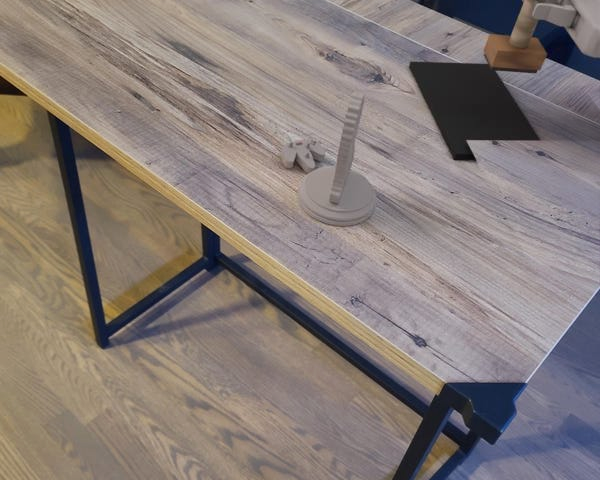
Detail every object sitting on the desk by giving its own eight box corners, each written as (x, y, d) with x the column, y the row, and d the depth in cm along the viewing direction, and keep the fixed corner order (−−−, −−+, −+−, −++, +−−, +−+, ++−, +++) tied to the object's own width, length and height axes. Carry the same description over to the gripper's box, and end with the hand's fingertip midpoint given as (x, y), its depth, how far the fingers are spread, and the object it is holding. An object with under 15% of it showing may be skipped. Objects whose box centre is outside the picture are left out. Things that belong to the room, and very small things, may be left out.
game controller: (301, 181, 75) (303, 164, 73) (239, 138, 80) (239, 121, 78) (331, 163, 78) (334, 146, 76) (269, 122, 83) (271, 106, 81)
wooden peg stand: (528, 58, 85) (577, -57, 74) (538, 74, 82) (590, -42, 71) (481, 54, 84) (523, -62, 73) (489, 71, 82) (534, -48, 70)
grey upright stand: (382, 185, 77) (412, 77, 65) (367, 235, 70) (397, 126, 59) (308, 165, 77) (325, 56, 66) (287, 213, 71) (302, 101, 60)
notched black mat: (488, 69, 99) (491, 63, 98) (546, 159, 84) (549, 154, 83) (408, 67, 97) (410, 61, 96) (453, 159, 82) (455, 153, 81)
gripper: (648, 75, 74) (543, 67, 73) (588, 0, 87) (498, -8, 85) (678, 25, 69) (566, 15, 68) (610, -47, 82) (515, -56, 81)
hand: (528, 1), depth 77 cm, fingers closed on wooden peg stand, 2 cm apart
